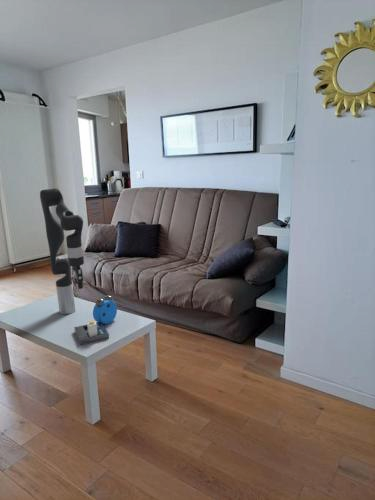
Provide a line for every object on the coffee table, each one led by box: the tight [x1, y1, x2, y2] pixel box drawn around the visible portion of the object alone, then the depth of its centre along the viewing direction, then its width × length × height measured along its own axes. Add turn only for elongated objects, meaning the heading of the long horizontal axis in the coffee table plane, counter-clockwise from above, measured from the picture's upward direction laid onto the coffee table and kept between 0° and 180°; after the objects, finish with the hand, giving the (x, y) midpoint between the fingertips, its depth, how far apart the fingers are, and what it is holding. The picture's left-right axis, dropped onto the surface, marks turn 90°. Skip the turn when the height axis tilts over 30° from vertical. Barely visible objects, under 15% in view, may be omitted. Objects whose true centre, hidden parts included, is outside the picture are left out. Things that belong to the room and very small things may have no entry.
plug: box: [86, 320, 98, 337], centre depth 173 cm, size 4×4×9 cm
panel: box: [74, 321, 110, 346], centre depth 178 cm, size 17×14×3 cm
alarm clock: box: [92, 294, 118, 325], centre depth 192 cm, size 13×6×15 cm, turn 148°
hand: (78, 286), depth 176 cm, fingers open, 8 cm apart
